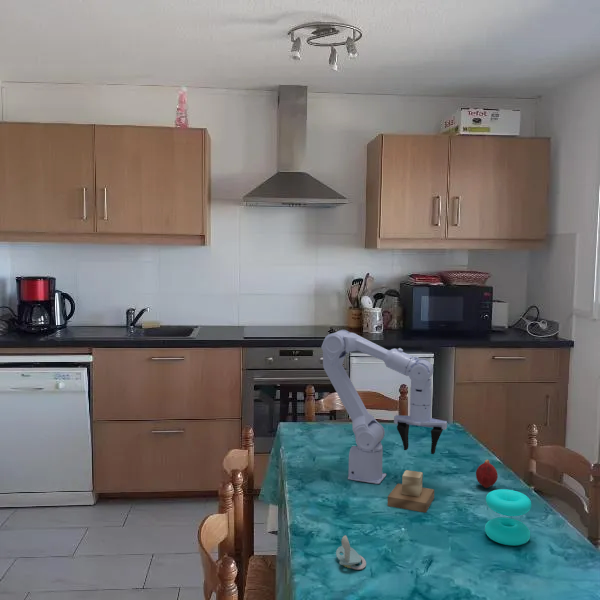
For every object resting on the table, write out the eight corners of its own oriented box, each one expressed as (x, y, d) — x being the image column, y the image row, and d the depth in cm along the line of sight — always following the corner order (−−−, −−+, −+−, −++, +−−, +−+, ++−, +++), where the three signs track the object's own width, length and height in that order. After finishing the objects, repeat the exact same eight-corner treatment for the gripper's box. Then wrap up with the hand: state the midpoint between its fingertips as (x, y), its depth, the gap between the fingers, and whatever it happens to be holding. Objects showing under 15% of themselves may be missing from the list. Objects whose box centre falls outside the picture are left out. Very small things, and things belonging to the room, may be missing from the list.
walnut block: (387, 507, 160) (387, 496, 160) (397, 494, 169) (397, 483, 169) (425, 514, 156) (426, 503, 156) (434, 500, 165) (434, 489, 165)
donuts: (492, 484, 149) (535, 493, 144) (491, 524, 150) (534, 534, 144) (480, 498, 140) (526, 508, 135) (479, 540, 141) (524, 552, 136)
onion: (498, 492, 169) (499, 464, 168) (476, 491, 170) (477, 462, 170) (495, 485, 175) (496, 457, 174) (474, 483, 176) (475, 455, 175)
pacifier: (361, 555, 135) (334, 556, 134) (362, 527, 134) (335, 528, 133) (369, 572, 127) (341, 574, 126) (371, 543, 127) (342, 544, 126)
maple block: (401, 494, 161) (402, 475, 161) (405, 488, 166) (405, 470, 165) (419, 497, 160) (419, 478, 159) (421, 490, 164) (422, 472, 164)
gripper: (391, 403, 172) (390, 451, 173) (443, 409, 166) (442, 459, 167) (398, 398, 178) (397, 444, 179) (448, 403, 172) (447, 451, 173)
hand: (419, 451), depth 173 cm, fingers open, 7 cm apart
